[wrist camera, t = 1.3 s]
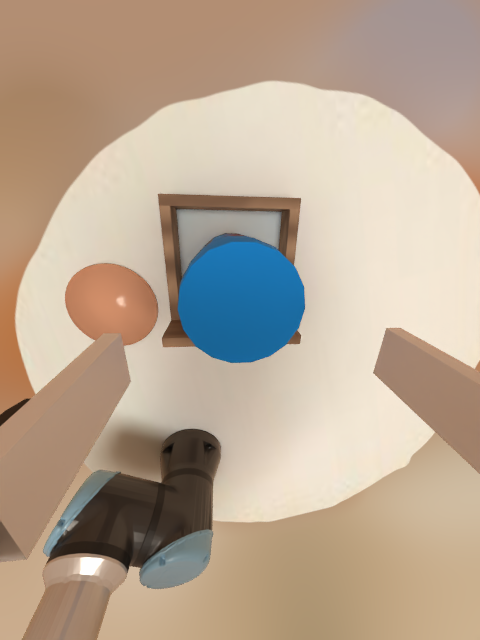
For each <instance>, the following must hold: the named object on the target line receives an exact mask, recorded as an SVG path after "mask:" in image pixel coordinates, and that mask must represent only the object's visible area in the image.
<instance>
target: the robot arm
mask: <svg viewBox="0 0 480 640" xmlns="http://www.w3.org/2000/svg"><path fill="white" fill-rule="evenodd" d="M373 373H374V374H375V375H376V376H377V377H378V378H379V379H380V380H381V381H382V382H383V383H384V384H385V385H386V386H388V387H389V388H390V389H391V390H392V391H393V392H394V393H395V394H396V395H397V396H398V397H399V398H400V399H401V400H402V401H403V402H404V403H405V404H407V405H408V406H409V407H410V408H411V409H412V410H413V411H414V412H415V413H416V414H417V415H418V416H419V417H420V418H421V419H422V420H423V421H424V422H425V423H427V424H428V425H429V426H430V427H431V428H432V429H433V430H434V431H435V432H436V433H437V434H438V435H439V436H440V437H441V438H443V440H444V441H446V442H447V443H448V444H449V445H450V446H451V447H452V448H453V449H454V450H455V451H456V452H457V453H458V454H459V455H460V456H461V457H462V458H463V459H465V460H466V461H467V462H468V463H469V464H470V465H471V466H472V467H473V468H474V469H475V470H476V471H477V472H478V473H479V474H480V372H479V371H477V370H475V369H473V368H472V367H470V366H468V365H466V364H464V363H463V362H461V361H459V360H457V359H455V358H454V357H452V356H450V355H448V354H446V353H445V352H443V351H441V350H439V349H437V348H436V347H434V346H432V345H430V344H428V343H427V342H425V341H423V340H421V339H419V338H418V337H416V336H414V335H412V334H410V333H409V332H407V331H405V330H403V329H401V328H386V331H385V335H384V338H383V342H382V345H381V348H380V352H379V355H378V359H377V362H376V365H375V369H374V372H373ZM130 382H131V380H130V375H129V371H128V366H127V361H126V356H125V351H124V346H123V342H122V337H121V333H103V334H102V335H101V336H100V337H99V338H98V339H97V340H96V341H95V342H93V343H92V344H91V345H90V346H89V347H88V348H87V349H86V350H85V351H84V352H82V353H81V354H80V355H79V356H78V357H77V358H76V359H75V360H74V361H72V362H71V363H70V364H69V365H68V366H67V367H66V368H65V369H64V370H62V371H61V372H60V373H59V374H58V375H57V376H56V377H55V378H54V379H52V380H51V381H50V382H49V383H48V384H47V385H46V386H45V387H44V388H42V389H41V390H40V391H39V392H38V393H37V394H36V395H35V396H34V397H33V398H31V399H25V400H23V401H21V402H20V403H18V404H16V405H15V406H13V407H11V408H9V409H8V410H6V411H5V412H3V413H2V414H1V415H0V562H6V561H16V560H26V559H27V558H28V557H29V555H30V553H31V551H32V550H33V548H34V547H35V545H36V543H37V541H38V540H39V538H40V536H41V535H42V533H43V531H44V529H45V528H46V526H47V524H48V523H49V521H50V519H51V517H52V515H53V514H54V512H55V511H56V509H57V507H58V505H59V504H60V502H61V500H62V498H63V497H64V495H65V493H66V491H67V490H68V488H69V487H70V485H71V483H72V481H73V480H74V478H75V476H76V474H77V473H78V471H79V469H80V468H81V466H82V464H83V463H84V461H85V459H86V457H87V456H88V454H89V452H90V451H91V449H92V447H93V445H94V444H95V442H96V440H97V439H98V437H99V435H100V433H101V432H102V430H103V428H104V427H105V425H106V423H107V422H108V420H109V418H110V416H111V415H112V413H113V411H114V410H115V408H116V406H117V404H118V403H119V401H120V399H121V398H122V396H123V394H124V392H125V391H126V389H127V387H128V386H129V384H130ZM220 458H221V447H220V444H219V442H218V440H217V439H216V438H215V437H214V436H213V435H211V434H209V433H207V432H205V431H201V430H193V429H192V430H183V431H179V432H177V433H175V434H173V435H171V436H170V437H169V438H168V439H167V440H166V441H165V442H164V444H163V447H162V451H161V455H160V462H161V474H162V482H161V483H158V482H154V481H150V480H146V479H142V478H138V477H134V476H130V475H125V474H121V472H111V471H106V470H98V471H96V472H94V473H92V474H91V475H90V476H89V477H88V478H87V479H86V480H85V482H84V483H83V485H82V486H81V487H80V488H79V490H78V491H77V493H76V494H75V496H74V497H73V499H72V500H71V502H70V503H69V505H68V506H67V508H66V509H65V511H64V513H63V514H62V516H61V519H60V520H59V521H58V523H57V525H56V526H55V528H54V529H53V531H52V532H51V534H50V536H49V538H48V540H47V542H46V544H45V546H44V549H43V553H44V554H46V556H47V557H50V558H49V559H48V561H47V563H46V565H45V567H44V569H43V579H44V584H45V592H44V595H43V597H42V599H41V601H40V603H39V605H38V607H37V609H36V611H35V613H34V615H33V617H32V619H31V622H30V624H29V626H28V628H27V630H26V632H25V634H24V636H23V638H22V640H97V638H98V634H99V631H100V628H101V624H102V621H103V618H104V615H105V611H106V608H107V604H108V601H109V598H110V595H111V594H112V593H113V592H114V591H115V590H116V589H117V588H118V587H119V585H121V584H122V583H123V582H124V581H125V579H126V577H127V573H128V569H129V566H133V567H139V568H141V569H140V572H139V575H140V582H141V584H142V585H143V586H147V587H148V588H152V589H164V588H170V587H174V586H178V585H182V584H184V583H186V582H189V581H191V580H193V579H194V578H196V577H197V576H199V575H200V574H201V573H202V572H203V571H204V570H205V568H206V567H207V565H208V563H209V560H210V555H211V543H212V536H213V532H212V514H213V480H214V477H215V474H216V471H217V468H218V465H219V462H220Z"/></svg>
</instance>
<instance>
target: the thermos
mask: <svg viewBox="0 0 480 640" xmlns="http://www.w3.org/2000/svg"><path fill="white" fill-rule="evenodd" d="M304 310H305V298H304V286H303V284H302V281H301V279H300V277H299V275H298V272H297V270H296V268H295V266H294V265H293V264H292V263H291V262H290V261H289V260H288V259H287V258H286V257H285V256H284V255H283V254H282V253H281V252H280V251H279V250H278V249H277V248H276V247H274V246H271V245H269V244H267V243H264V242H262V241H259V240H257V239H255V238H251V237H247V236H244V235H240V234H227V233H225V234H222V235H220V236H217V237H214V238H213V239H212V240H211V241H210V242H209V243H207V244H206V245H205V246H204V247H203V249H202V250H201V251H200V252H199V253H198V254H197V255H196V256H195V257H194V259H193V260H192V261H191V262H190V264H189V266H188V268H187V270H186V272H185V274H184V276H183V278H182V280H181V283H180V290H179V299H178V313H179V316H180V320H181V323H182V327H183V330H184V331H185V333H186V334H187V335H188V337H189V338H190V339H191V341H192V342H193V344H194V345H195V346H196V347H198V348H199V349H200V350H202V351H203V352H205V353H206V354H208V355H209V356H211V357H213V358H216V359H220V360H223V361H227V362H230V363H242V362H253V361H256V360H259V359H262V358H265V357H268V356H271V355H272V354H274V353H275V352H276V351H278V350H279V349H280V348H282V347H283V346H285V345H286V344H287V343H288V342H289V340H290V339H291V338H292V336H293V335H294V333H295V332H296V331H297V329H298V328H299V325H300V322H301V319H302V316H303V313H304Z"/></svg>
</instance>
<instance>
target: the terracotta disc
mask: <svg viewBox="0 0 480 640" xmlns="http://www.w3.org/2000/svg"><path fill="white" fill-rule="evenodd" d="M65 303H66V308H67V311H68V313H69V315H70V317H71V319H72V321H73V322H74V324H75V325H76V326H77V327H78V328H79V329H80V330H81V331H82V332H83V333H84V334H86V335H87V336H88V337H90V338H92V339H94V340H97V339H98V338H99V337H100V336H101V335H102V334H103V333H121V337H122V342H123V346H125V345H130V344H133V343H136V342H138V341H140V340H142V339H143V338H145V337H146V336H147V335H148V334H149V333H150V331H151V330H152V328H153V327H154V325H155V323H156V320H157V316H158V305H157V300H156V297H155V295H154V293H153V291H152V289H151V288H150V286H149V285H148V284H147V282H146V281H145V280H144V279H143V278H142V277H140V276H139V275H138V274H137V273H135V272H133V271H132V270H130V269H128V268H125V267H123V266H120V265H115V264H106V263H105V264H96V265H92V266H89V267H86V268H84V269H82V270H80V271H79V272H77V273H76V274H75V275H74V276H73V277H72V278H71V280H70V281H69V283H68V286H67V289H66V293H65Z"/></svg>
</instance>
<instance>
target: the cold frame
mask: <svg viewBox="0 0 480 640" xmlns="http://www.w3.org/2000/svg"><path fill="white" fill-rule="evenodd" d="M158 199H159V208H160V217H161V227H162V236H163V245H164V255H165V264H166V274H167V283H168V292H169V302H170V311H171V322H170V324H169V326H168V328H167V330H166V331H165V333H164V335H163V337H162V343H163V347H190V346H195V345H194V344H193V342H192V341H191V339H190V338H189V337H188V335H187V334H186V333H185V331H184V330H183V327H182V323H181V320H180V316H179V313H178V299H179V290H180V283H181V280H182V276H181V263H180V251H179V239H178V227H177V214H176V209H204V210H242V211H280V212H282V217H281V229H280V242H279V251H280V252H281V253H282V254H283V255H284V256H285V257H286V258H287V259H288V260H289V261H290V262H291V263H292V264H293V265H294V260H295V250H296V241H297V232H298V222H299V213H300V204H301V198H274V197H243V196H211V195H180V194H158ZM300 339H301V335H300V333H299V332H298V331H296V332H295V333H294V335H293V336H292V338H291V339H290V340H289V342H288V343H287V344H300Z"/></svg>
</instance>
